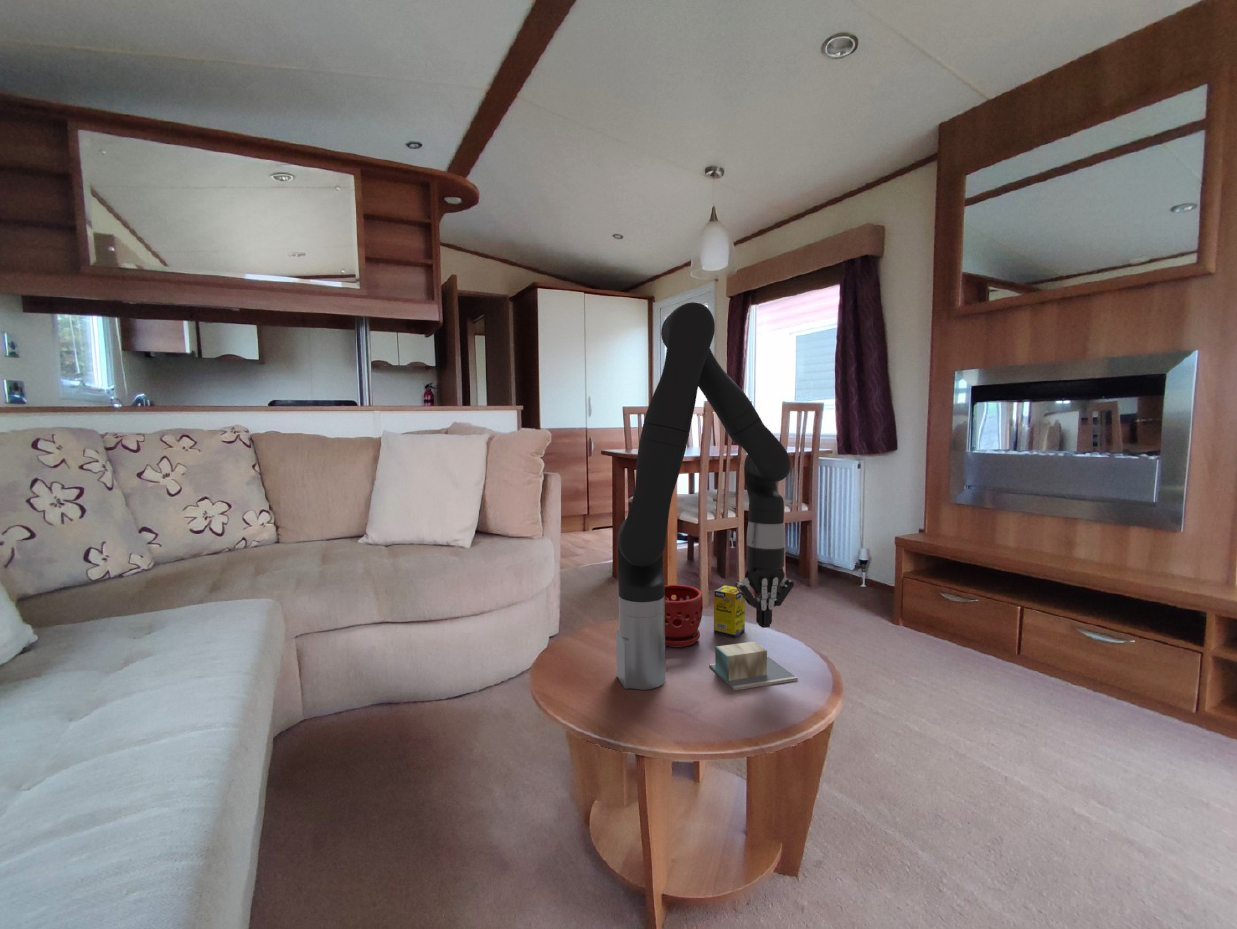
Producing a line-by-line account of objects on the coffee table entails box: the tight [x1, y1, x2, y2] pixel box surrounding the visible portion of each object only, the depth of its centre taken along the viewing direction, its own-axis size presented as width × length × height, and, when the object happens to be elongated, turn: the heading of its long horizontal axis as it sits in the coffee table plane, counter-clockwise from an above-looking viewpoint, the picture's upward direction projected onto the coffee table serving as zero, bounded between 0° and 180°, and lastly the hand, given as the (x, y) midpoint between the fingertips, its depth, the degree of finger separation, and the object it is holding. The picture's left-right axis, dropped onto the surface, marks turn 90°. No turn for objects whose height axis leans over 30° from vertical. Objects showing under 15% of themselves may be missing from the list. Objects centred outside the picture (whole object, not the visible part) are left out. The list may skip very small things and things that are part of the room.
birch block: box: [714, 641, 768, 681], centre depth 105 cm, size 5×5×9 cm
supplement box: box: [713, 584, 746, 638], centre depth 129 cm, size 6×6×11 cm
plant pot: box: [665, 584, 704, 648], centre depth 124 cm, size 13×13×12 cm
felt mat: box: [708, 655, 799, 691], centre depth 106 cm, size 14×11×1 cm
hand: (764, 626), depth 107 cm, fingers closed
